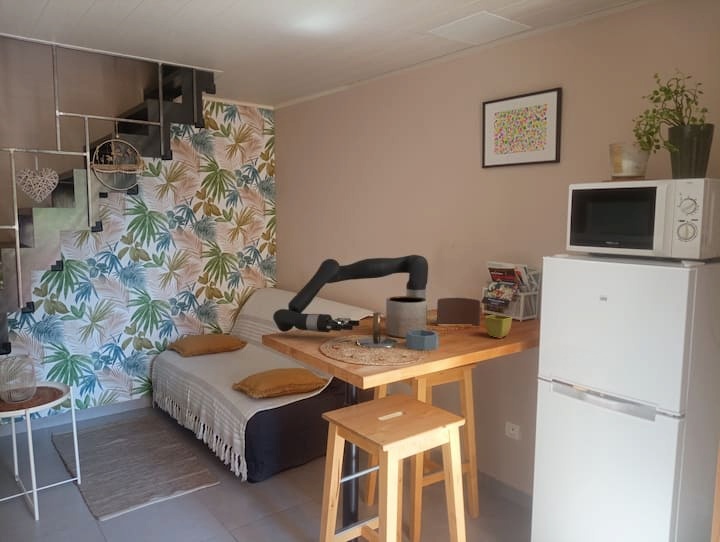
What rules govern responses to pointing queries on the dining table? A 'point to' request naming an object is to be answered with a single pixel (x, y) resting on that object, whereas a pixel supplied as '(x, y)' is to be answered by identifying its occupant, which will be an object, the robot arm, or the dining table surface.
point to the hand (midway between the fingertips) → (355, 325)
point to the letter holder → (458, 311)
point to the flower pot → (498, 325)
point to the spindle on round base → (377, 336)
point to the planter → (405, 315)
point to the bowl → (422, 339)
